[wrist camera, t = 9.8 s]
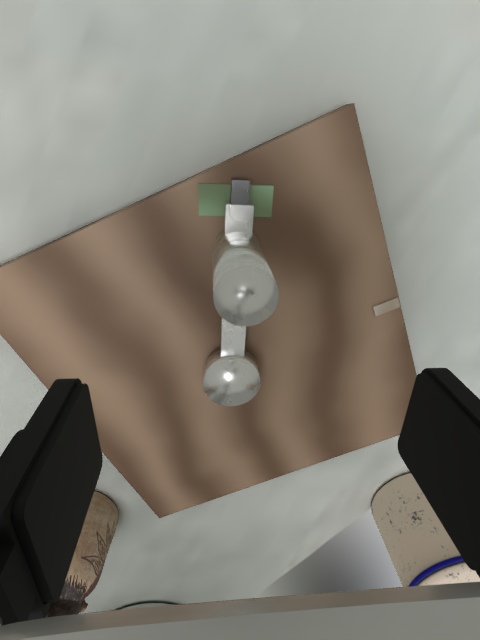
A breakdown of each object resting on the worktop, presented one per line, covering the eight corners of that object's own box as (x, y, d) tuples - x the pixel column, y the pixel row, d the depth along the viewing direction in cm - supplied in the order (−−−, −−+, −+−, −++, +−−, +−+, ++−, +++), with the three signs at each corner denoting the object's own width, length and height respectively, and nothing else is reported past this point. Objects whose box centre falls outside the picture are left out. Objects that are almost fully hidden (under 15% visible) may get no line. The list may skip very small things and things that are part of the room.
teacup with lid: (426, 529, 41) (499, 664, 31) (353, 520, 39) (404, 659, 29) (487, 454, 36) (598, 584, 26) (406, 439, 34) (491, 573, 24)
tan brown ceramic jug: (50, 535, 37) (-14, 700, 26) (34, 487, 34) (-48, 653, 23) (123, 532, 37) (89, 691, 27) (114, 484, 34) (71, 645, 24)
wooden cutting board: (160, 506, 36) (159, 520, 35) (-30, 279, 24) (-43, 287, 23) (420, 415, 33) (429, 426, 32) (346, 104, 21) (355, 103, 20)
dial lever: (255, 392, 28) (268, 466, 22) (203, 392, 28) (201, 468, 22) (274, 179, 21) (301, 201, 15) (204, 176, 21) (202, 197, 15)
